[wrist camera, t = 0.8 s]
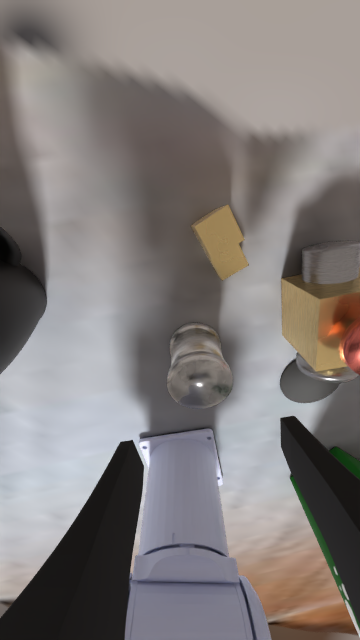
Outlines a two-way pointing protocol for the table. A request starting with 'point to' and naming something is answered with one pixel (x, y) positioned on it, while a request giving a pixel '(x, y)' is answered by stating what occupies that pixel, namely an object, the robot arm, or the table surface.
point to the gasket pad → (304, 386)
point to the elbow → (221, 241)
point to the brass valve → (325, 311)
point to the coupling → (198, 367)
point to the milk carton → (356, 468)
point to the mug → (16, 301)
